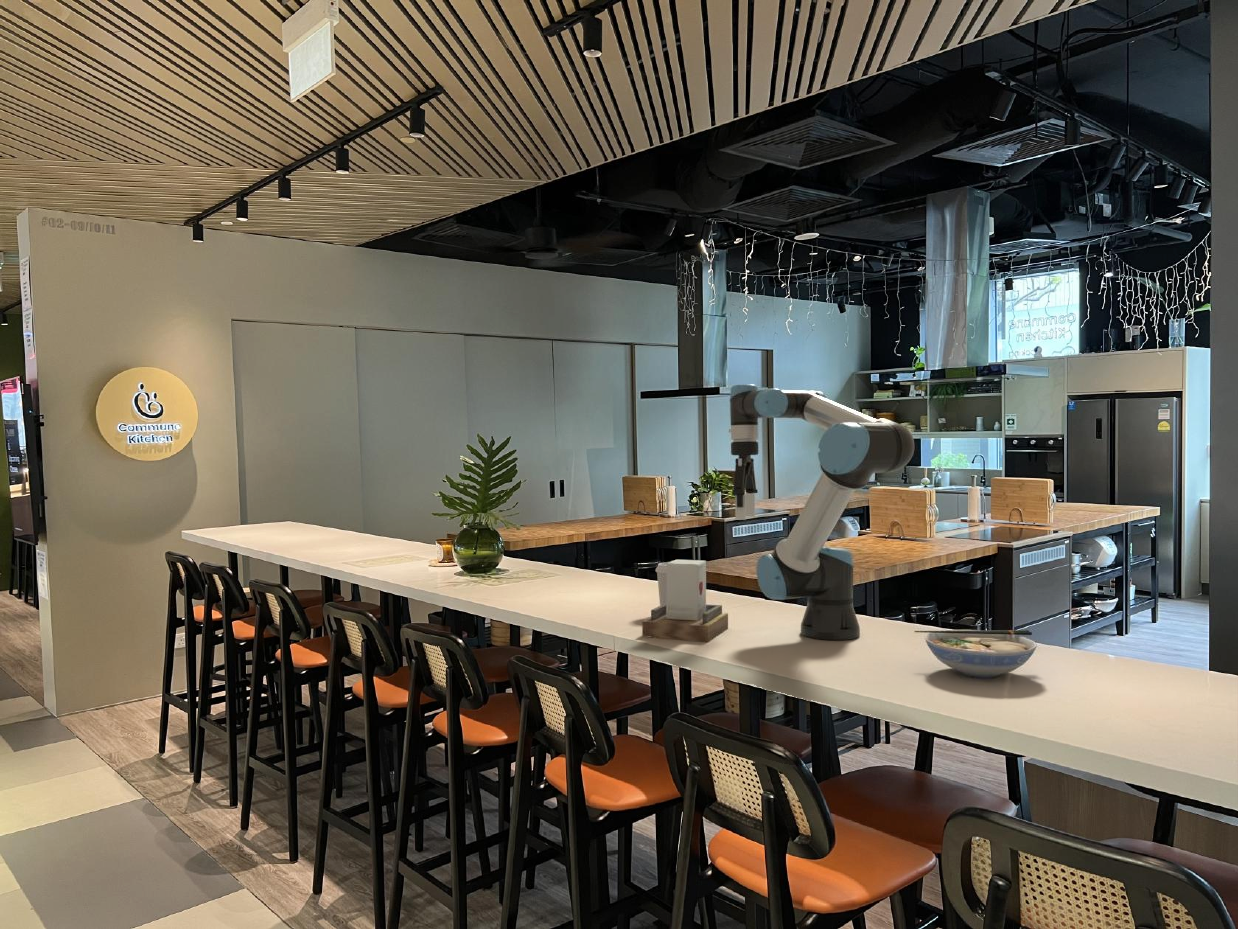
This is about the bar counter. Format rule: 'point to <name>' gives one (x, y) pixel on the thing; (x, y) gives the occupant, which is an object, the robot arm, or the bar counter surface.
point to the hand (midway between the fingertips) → (745, 518)
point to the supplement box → (686, 589)
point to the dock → (686, 625)
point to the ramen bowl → (981, 650)
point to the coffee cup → (662, 581)
